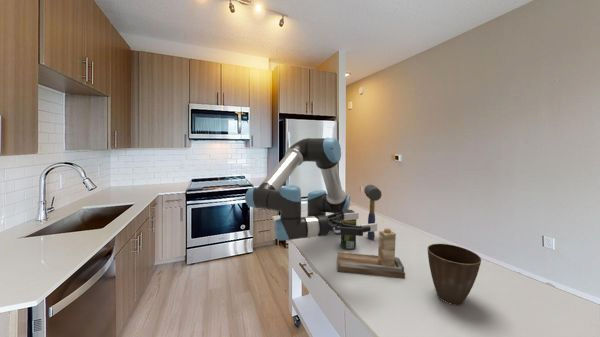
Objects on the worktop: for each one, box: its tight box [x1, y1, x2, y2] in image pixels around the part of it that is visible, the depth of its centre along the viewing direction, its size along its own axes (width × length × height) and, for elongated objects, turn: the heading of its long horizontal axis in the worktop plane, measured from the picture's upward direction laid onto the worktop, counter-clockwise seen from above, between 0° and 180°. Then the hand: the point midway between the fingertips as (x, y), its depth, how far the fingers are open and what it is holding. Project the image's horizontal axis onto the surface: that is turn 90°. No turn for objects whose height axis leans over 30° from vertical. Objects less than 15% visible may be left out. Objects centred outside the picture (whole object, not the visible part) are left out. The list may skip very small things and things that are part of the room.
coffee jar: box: [340, 209, 358, 250], centre depth 117 cm, size 10×8×19 cm
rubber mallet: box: [363, 184, 382, 240], centre depth 126 cm, size 12×8×30 cm, turn 175°
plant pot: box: [427, 243, 482, 306], centre depth 77 cm, size 15×15×16 cm
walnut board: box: [337, 252, 406, 279], centre depth 97 cm, size 13×26×4 cm, turn 80°
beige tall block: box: [377, 228, 397, 267], centre depth 94 cm, size 4×5×15 cm
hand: (366, 220), depth 90 cm, fingers open, 13 cm apart
